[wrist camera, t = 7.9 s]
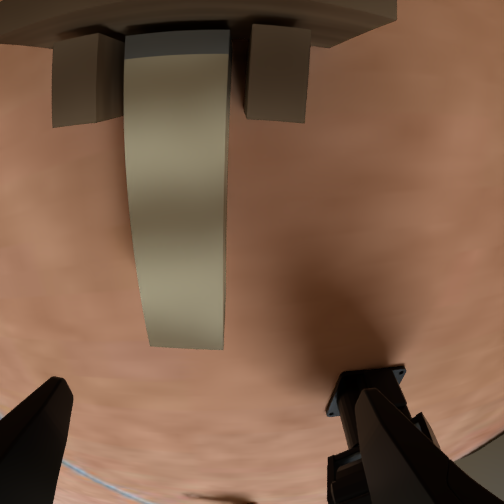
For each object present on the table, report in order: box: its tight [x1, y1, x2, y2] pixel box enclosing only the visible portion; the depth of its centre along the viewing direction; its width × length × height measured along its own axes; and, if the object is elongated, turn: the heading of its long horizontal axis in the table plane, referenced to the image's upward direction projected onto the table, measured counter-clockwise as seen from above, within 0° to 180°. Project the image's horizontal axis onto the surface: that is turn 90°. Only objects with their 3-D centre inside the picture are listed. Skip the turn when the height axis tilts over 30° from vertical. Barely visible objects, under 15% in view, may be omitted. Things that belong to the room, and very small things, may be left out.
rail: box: [124, 30, 232, 350], centre depth 15 cm, size 15×4×5 cm, turn 177°
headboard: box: [0, 0, 397, 128], centre depth 11 cm, size 6×14×8 cm, turn 87°
